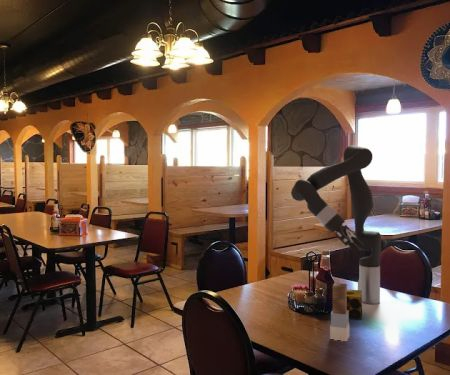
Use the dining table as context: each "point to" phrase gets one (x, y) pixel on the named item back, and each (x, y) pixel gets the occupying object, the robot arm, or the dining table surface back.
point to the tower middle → (340, 319)
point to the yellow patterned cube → (354, 304)
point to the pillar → (339, 298)
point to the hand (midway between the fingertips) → (359, 248)
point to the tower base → (339, 333)
